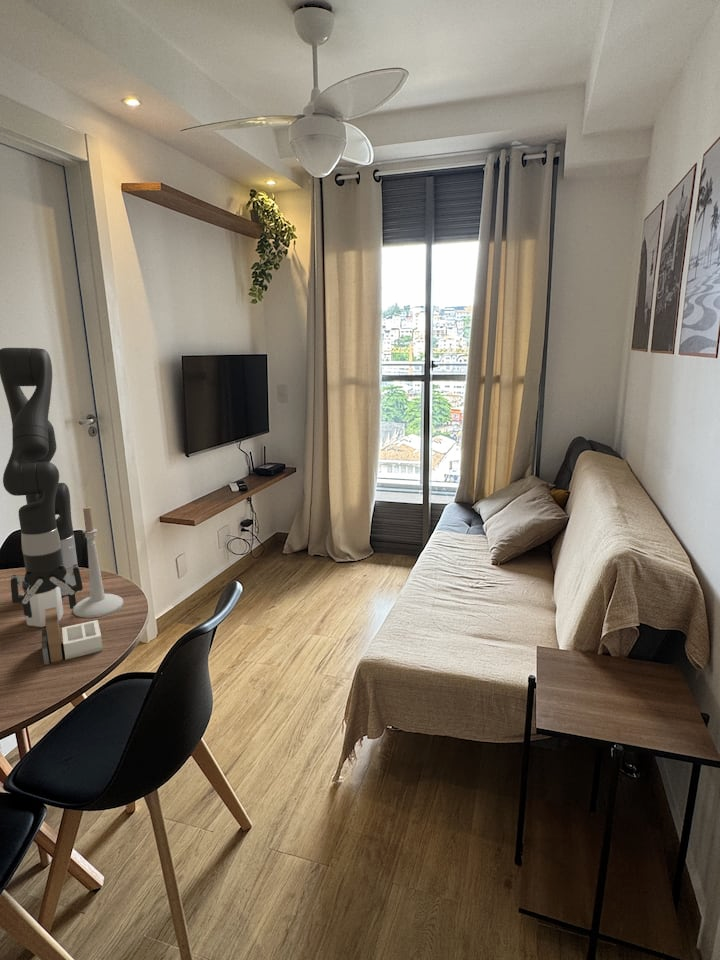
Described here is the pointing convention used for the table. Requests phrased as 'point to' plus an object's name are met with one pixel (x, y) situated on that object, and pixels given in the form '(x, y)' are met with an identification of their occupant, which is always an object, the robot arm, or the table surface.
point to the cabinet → (77, 640)
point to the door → (53, 634)
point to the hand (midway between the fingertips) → (51, 611)
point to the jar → (43, 604)
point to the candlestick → (95, 580)
